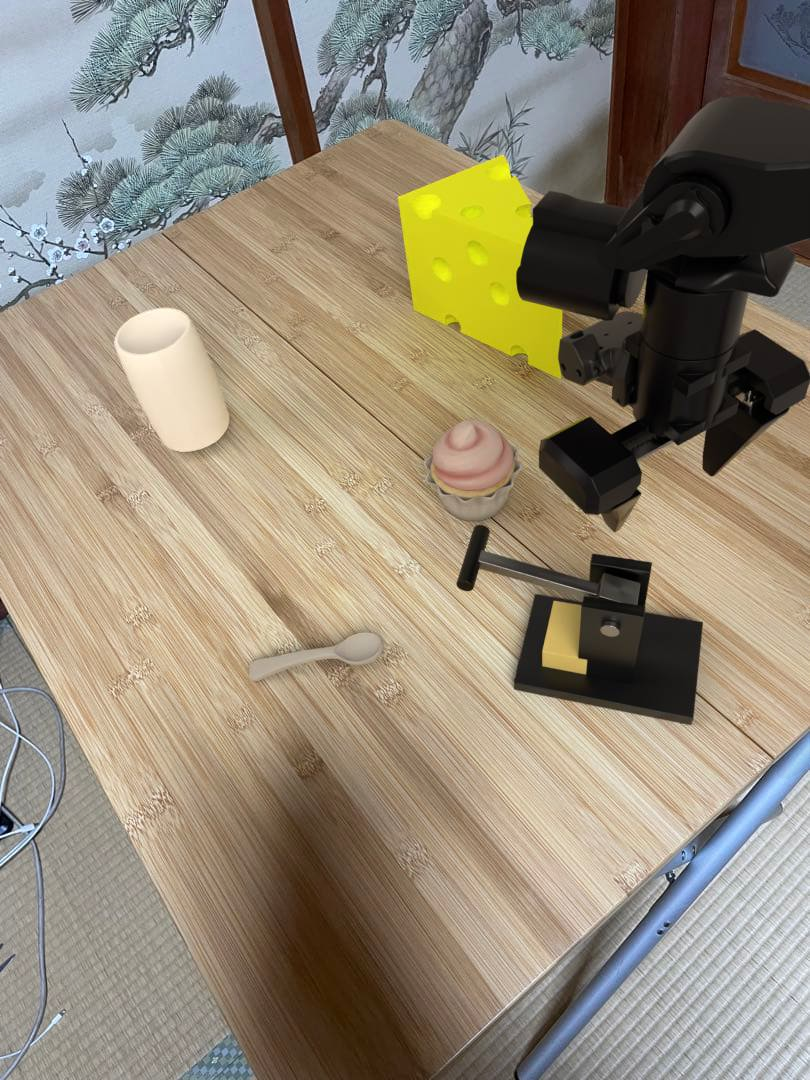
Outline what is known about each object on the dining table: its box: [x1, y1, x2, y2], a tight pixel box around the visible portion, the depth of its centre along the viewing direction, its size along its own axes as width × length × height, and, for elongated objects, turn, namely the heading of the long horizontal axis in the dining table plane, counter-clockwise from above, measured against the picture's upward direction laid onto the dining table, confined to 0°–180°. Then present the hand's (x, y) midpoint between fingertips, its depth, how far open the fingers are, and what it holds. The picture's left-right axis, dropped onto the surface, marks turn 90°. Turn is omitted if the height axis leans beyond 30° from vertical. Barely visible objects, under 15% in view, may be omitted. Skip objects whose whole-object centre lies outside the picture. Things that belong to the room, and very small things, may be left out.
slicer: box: [513, 553, 704, 726], centre depth 65 cm, size 14×9×11 cm, turn 73°
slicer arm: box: [455, 524, 640, 605], centre depth 63 cm, size 13×6×2 cm, turn 73°
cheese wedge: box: [397, 154, 564, 380], centre depth 94 cm, size 19×20×15 cm
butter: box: [542, 601, 587, 674], centre depth 68 cm, size 5×4×2 cm
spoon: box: [248, 631, 385, 682], centre depth 72 cm, size 3×12×2 cm, turn 97°
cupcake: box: [423, 419, 524, 522], centre depth 78 cm, size 9×9×10 cm
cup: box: [113, 307, 230, 453], centre depth 88 cm, size 8×8×14 cm
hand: (661, 499), depth 63 cm, fingers open, 9 cm apart
